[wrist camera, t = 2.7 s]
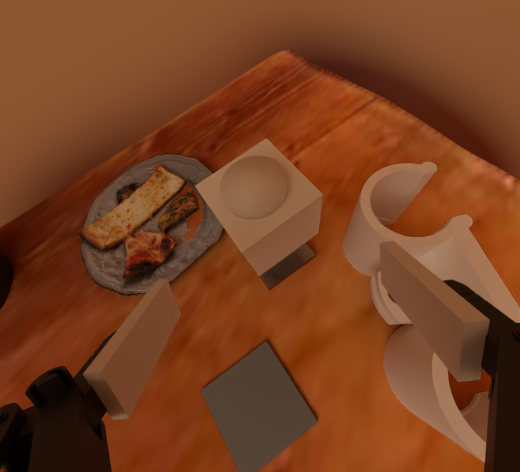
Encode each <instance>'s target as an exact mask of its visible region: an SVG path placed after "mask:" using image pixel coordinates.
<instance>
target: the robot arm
mask: <svg viewBox="0 0 520 472" xmlns="http://www.w3.org/2000/svg"><path fill="white" fill-rule="evenodd" d="M380 266H381V284H382V285H383V286H384V287H385V289H386V290H387V291H388V293H389V294H390V295H391V296H392V298H393V299H394V300H395V302H396V303H397V304H398V306H399V307H400V308H401V309H402V311H403V312H404V313H405V315H406V316H407V317H408V318H409V320H410V321H411V322H412V324H413V325H414V326H415V327H416V329H417V330H418V331H419V333H420V334H421V335H422V337H423V338H424V339H425V340H426V342H427V343H428V344H429V346H430V347H431V348H432V349H433V351H434V352H435V353H436V355H437V356H438V357H439V358H440V360H441V361H442V362H443V364H444V365H445V366H446V368H447V369H448V370H449V371H450V373H451V374H452V375H453V377H454V378H455V379H456V380H457V382H464V381H473V380H480V378H481V372H482V368H483V369H484V370H485V371H486V372H487V373H488V374H489V375H490V376H491V384H490V389H489V395H488V399H489V411H488V425H487V439H486V453H485V466H484V472H520V323H518V322H517V323H516V322H514V321H513V320H512V319H510V318H509V317H508V316H506V315H505V314H504V313H502V312H501V311H500V310H498V309H497V308H496V307H494V306H493V305H492V304H490V303H489V302H488V301H486V300H484V298H482V297H481V296H480V295H478V294H476V293H475V292H474V291H473V290H472V289H470V288H469V287H468V286H466V285H464V284H462V283H460V282H457V281H455V280H453V279H451V280H444V281H442V280H441V279H439V278H438V277H437V276H436V275H435V274H433V273H432V272H431V271H430V270H428V269H427V268H426V267H425V266H424V265H422V264H421V263H420V262H419V261H418V260H416V259H415V258H414V257H413V256H411V255H410V254H409V253H408V252H407V251H405V250H404V249H403V248H402V247H401V246H399V245H398V244H397V243H396V242H394V241H388V242H382V243H380ZM11 278H12V270H11V265H10V263H9V261H8V259H7V258H6V257H5V256H4V255H2V254H0V307H1V305H2V303H3V302H4V300H5V298H6V296H7V293H8V291H9V288H10V284H11ZM180 315H181V313H180V310H179V308H178V305H177V303H176V300H175V298H174V295H173V293H172V290H171V288H170V285H169V283H168V280H161V281H156V282H155V283H154V284H153V286H152V287H151V288H150V290H149V291H148V292H147V293H146V295H145V296H144V297H143V298H142V300H141V301H140V302H139V303H138V305H137V306H136V307H135V309H134V310H133V311H132V312H131V314H130V315H129V316H128V317H127V319H126V320H125V321H124V322H123V324H122V325H121V326H120V328H119V329H118V330H117V331H115V332H113V333H112V334H111V335H110V336H109V337H107V338H106V339H105V340H104V341H103V343H102V344H101V345H100V346H99V349H97V350H96V351H95V353H94V354H93V356H91V357H90V359H89V360H88V361H87V362H86V364H85V365H84V366H83V367H82V368H81V370H80V371H79V372H78V373H77V375H76V376H75V377H74V378H73V377H72V376H71V374H70V373H69V371H68V370H67V368H66V367H63V366H60V367H56V368H53V369H51V370H49V371H47V372H45V373H44V374H42V375H41V376H39V377H38V378H37V379H36V380H35V381H33V382H32V384H31V385H30V386H29V387H28V388H27V390H26V392H25V394H26V395H27V396H28V398H29V399H30V400H31V401H32V403H33V404H34V405H35V406H32V407H30V408H27V409H25V410H22V409H21V407H20V406H19V405H18V404H17V403H11V404H8V405H5V406H3V407H1V408H0V469H1V468H2V469H3V470H4V472H112V471H111V464H110V457H109V450H108V444H107V437H106V430H105V425H104V423H103V421H102V420H101V419H102V418H103V416H104V414H105V413H106V411H107V412H108V414H109V415H110V417H111V418H112V420H116V419H125V418H129V417H130V415H131V413H132V411H133V409H134V407H135V405H136V403H137V401H138V399H139V397H140V395H141V393H142V391H143V389H144V387H145V385H146V383H147V381H148V379H149V377H150V375H151V373H152V371H153V369H154V367H155V365H156V363H157V361H158V359H159V357H160V355H161V353H162V351H163V349H164V347H165V345H166V343H167V341H168V339H169V337H170V335H171V333H172V331H173V329H174V327H175V325H176V323H177V321H178V319H179V317H180Z"/></svg>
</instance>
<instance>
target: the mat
mask: <svg viewBox="0 0 520 472" xmlns="http://www.w3.org/2000/svg"><path fill="white" fill-rule="evenodd" d="M201 392H202V394H203V396H204V398H205V401H206V403H207V405H208V407H209V409H210V411H211V413H212V415H213V418H214V420H215V422H216V424H217V426H218V428H219V430H220V432H221V435H222V437H223V439H224V441H225V443H226V445H227V447H228V449H229V452H230V454H231V456H232V458H233V460H234V462H235V464H236V466H237V469H238V471H239V472H257V471H258V470H259V469H260V468H262V467H263V466H264V465H265V464H267V463H268V462H269V461H270V460H271V459H273V458H274V457H275V456H276V455H278V454H279V453H280V452H281V451H283V450H284V449H285V448H286V447H287V446H289V445H290V444H291V443H292V442H294V441H295V440H296V439H297V438H298V437H300V436H301V435H302V434H303V433H305V432H306V431H307V430H308V429H310V428H311V427H312V426H313V425H314V424H316V423H317V422H318V420H317V419H316V417H315V416H314V414H313V413H312V411H311V409H310V408H309V406H308V405H307V403H306V402H305V400H304V398H303V397H302V395H301V394H300V392H299V391H298V389H297V387H296V386H295V384H294V383H293V381H292V380H291V378H290V376H289V375H288V373H287V372H286V370H285V369H284V367H283V365H282V364H281V362H280V361H279V359H278V357H277V356H276V354H275V353H274V351H273V350H272V348H271V346H270V345H269V343H268V342H267V341H265V342H264V343H263V344H261V345H260V346H259V347H257V348H256V349H255V350H253V351H252V352H251V353H249V354H248V355H247V356H246V357H244V358H243V359H242V360H240V361H239V362H238V363H236V364H235V365H234V366H232V367H231V368H230V369H228V370H227V371H226V372H224V373H223V374H222V375H220V376H219V377H218V378H217V379H215V380H214V381H213V382H211V383H210V384H209V385H207V386H206V387H205V388H203V389H202V390H201Z"/></svg>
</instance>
